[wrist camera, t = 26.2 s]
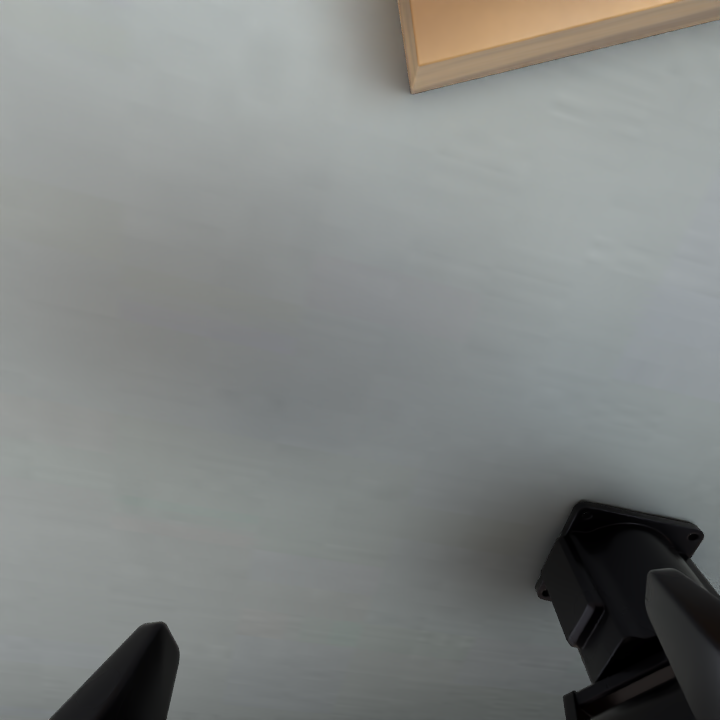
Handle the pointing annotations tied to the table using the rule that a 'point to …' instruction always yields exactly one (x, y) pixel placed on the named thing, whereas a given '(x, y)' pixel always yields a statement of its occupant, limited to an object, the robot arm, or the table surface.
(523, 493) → the table surface
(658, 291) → the table surface
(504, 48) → the block
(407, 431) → the table surface
